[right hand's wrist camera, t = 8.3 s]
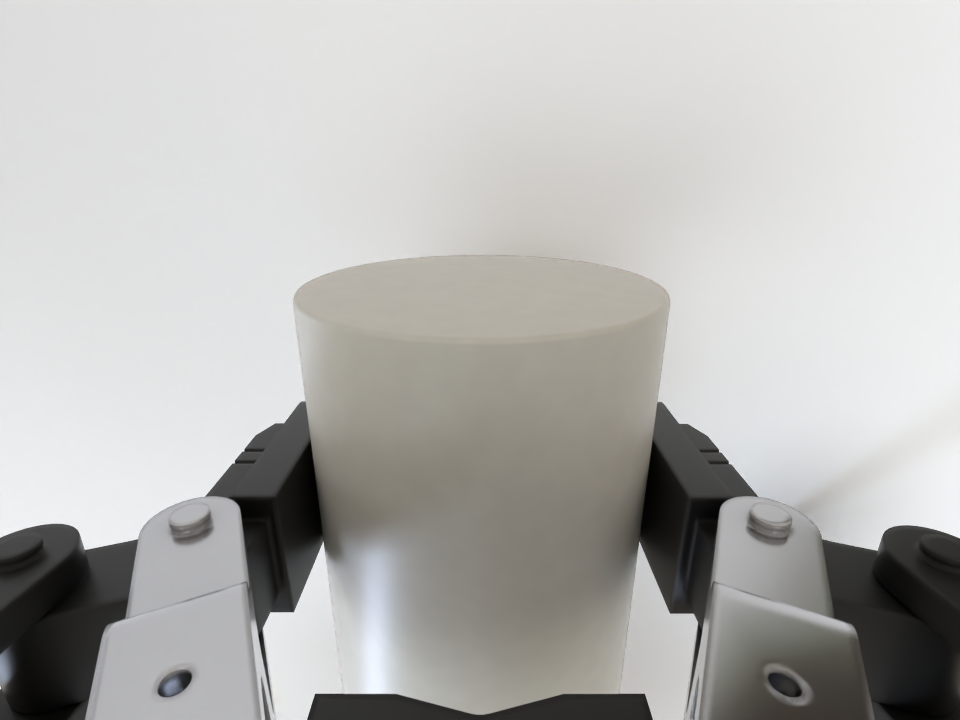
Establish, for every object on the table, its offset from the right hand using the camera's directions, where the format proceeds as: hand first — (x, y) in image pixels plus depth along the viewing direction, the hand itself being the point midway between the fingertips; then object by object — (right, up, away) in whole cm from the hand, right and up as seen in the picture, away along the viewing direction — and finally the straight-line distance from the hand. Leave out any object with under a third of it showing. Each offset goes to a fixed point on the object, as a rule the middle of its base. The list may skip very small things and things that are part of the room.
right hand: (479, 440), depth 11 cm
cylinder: (0, -8, +5) cm, 9 cm away
